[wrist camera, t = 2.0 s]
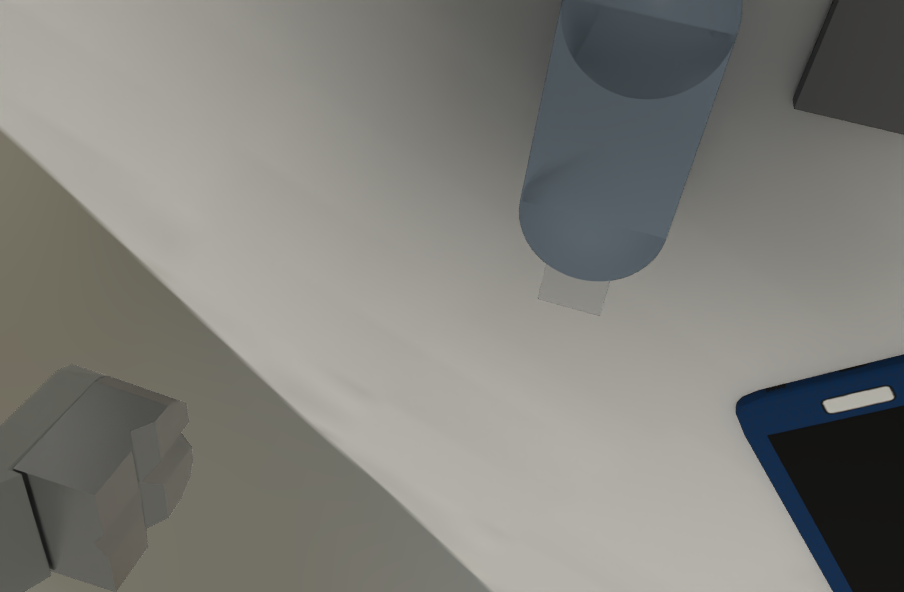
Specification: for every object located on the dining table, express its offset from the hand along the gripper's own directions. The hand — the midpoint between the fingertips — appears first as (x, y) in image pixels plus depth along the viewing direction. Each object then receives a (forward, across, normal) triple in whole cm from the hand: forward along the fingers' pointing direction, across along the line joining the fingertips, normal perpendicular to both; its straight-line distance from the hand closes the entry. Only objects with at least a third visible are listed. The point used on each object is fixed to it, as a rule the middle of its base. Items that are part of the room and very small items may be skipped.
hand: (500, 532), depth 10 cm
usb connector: (+15, 0, 0) cm, 15 cm away
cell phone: (+16, -13, +13) cm, 24 cm away
